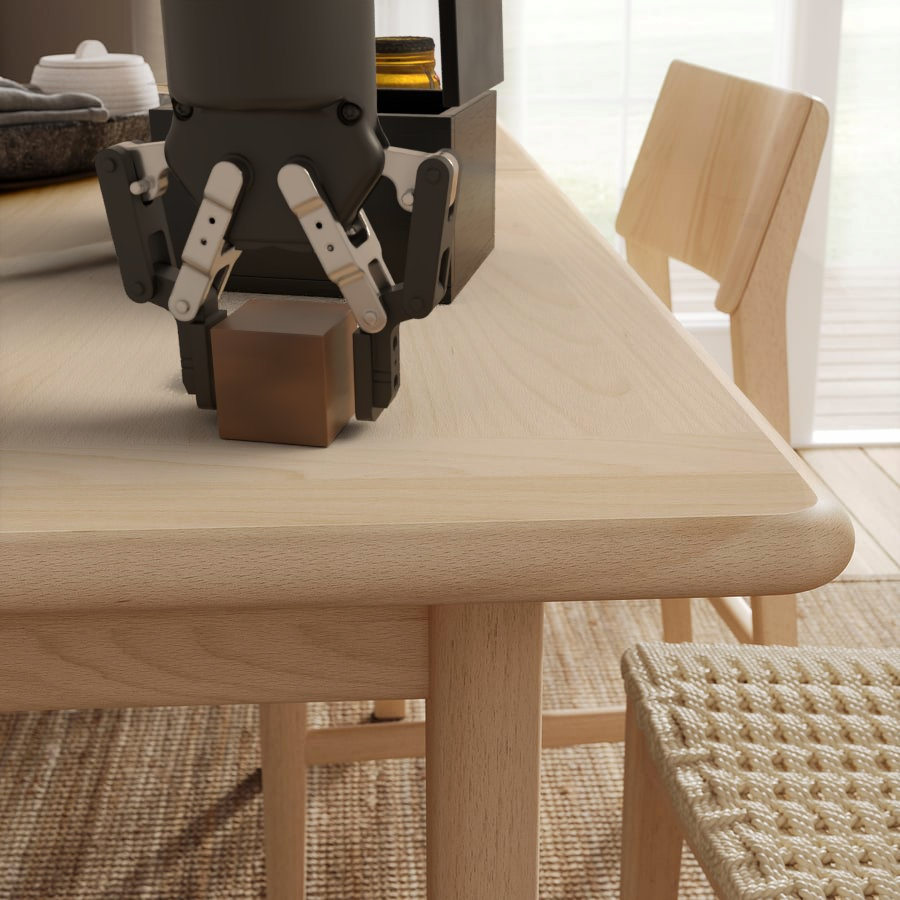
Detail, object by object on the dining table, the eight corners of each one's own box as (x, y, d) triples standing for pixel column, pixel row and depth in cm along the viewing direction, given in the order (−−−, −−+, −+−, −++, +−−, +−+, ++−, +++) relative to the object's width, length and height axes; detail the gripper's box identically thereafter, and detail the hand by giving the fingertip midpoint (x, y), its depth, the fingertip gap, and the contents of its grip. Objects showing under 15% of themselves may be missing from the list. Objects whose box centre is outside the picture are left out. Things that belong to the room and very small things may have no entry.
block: (218, 438, 46) (209, 328, 44) (259, 399, 50) (252, 297, 48) (328, 447, 45) (323, 336, 44) (360, 407, 49) (357, 303, 48)
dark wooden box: (165, 287, 67) (147, 109, 63) (251, 236, 80) (241, 84, 76) (451, 304, 64) (451, 117, 60) (494, 247, 76) (497, 89, 73)
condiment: (352, 206, 89) (347, 40, 84) (366, 186, 97) (362, 33, 92) (448, 208, 89) (448, 40, 84) (454, 187, 96) (455, 33, 92)
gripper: (487, -40, 43) (482, 391, 49) (125, -39, 46) (166, 368, 52) (444, -39, 36) (445, 459, 43) (22, -39, 39) (83, 429, 45)
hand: (291, 407), depth 47 cm, fingers open, 6 cm apart
